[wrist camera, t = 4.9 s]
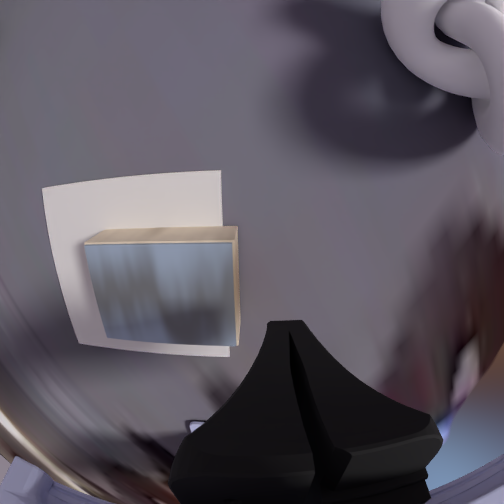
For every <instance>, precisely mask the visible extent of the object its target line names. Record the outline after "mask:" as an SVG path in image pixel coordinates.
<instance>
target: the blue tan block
mask: <svg viewBox="0 0 504 504" xmlns="http://www.w3.org/2000/svg"><path fill="white" fill-rule="evenodd" d="M84 244H85V245H84V248H85V253H86V258H87V263H88V268H89V272H90V277H91V281H92V285H93V289H94V293H95V297H96V301H97V305H98V309H99V312H100V316H101V319H102V323H103V326H104V329H105V333H106V336H107V338H112V339H121V340H131V341H142V342H153V343H167V344H184V345H206V346H236V345H239V333H240V293H239V262H238V226H201V227H160V228H129V229H105V230H103V231H102V232H100V233H99V234H97V235H95V236H94V237H92V238H91V239H89V240H88V241H86V242H85V243H84Z"/></svg>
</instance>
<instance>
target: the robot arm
mask: <svg viewBox="0 0 504 504" xmlns="http://www.w3.org/2000/svg"><path fill="white" fill-rule="evenodd" d="M190 430H191V433H190V434H189V435H188V436H186V437H185V438H184V440H183V441H182V443H181V445H180V447H179V449H178V451H177V453H176V456H175V458H174V461H173V464H172V467H171V471H170V476H169V481H168V485H169V488H170V489H171V491H172V492H173V494H174V495H175V496H176V498H177V499H178V501H179V502H180V503H181V504H504V454H503V455H501V456H500V457H498V458H496V459H495V460H493V461H491V462H489V463H487V464H486V465H484V466H482V467H480V468H478V469H477V470H475V471H473V472H471V473H469V474H467V475H465V476H463V477H461V478H459V479H457V480H455V481H452V482H450V483H448V484H445V485H443V486H441V487H438V488H436V489H433V490H431V491H429V490H428V487H427V485H426V482H425V479H427V478H428V473H427V471H426V468H425V467H426V466H427V465H428V464H429V463H430V461H431V460H432V459H433V458H434V457H435V455H436V454H437V453H438V451H439V450H440V448H441V446H442V443H443V438H442V436H441V434H440V432H439V430H438V428H437V426H436V424H435V422H434V421H433V419H432V417H431V416H430V415H429V414H427V413H424V412H421V411H418V410H415V409H413V408H410V407H407V406H405V405H403V404H400V403H398V402H396V401H394V400H392V399H390V398H388V397H386V396H384V395H383V394H381V393H379V392H377V391H376V390H374V389H372V388H371V387H369V386H368V385H366V384H365V383H363V382H362V381H360V380H359V379H358V378H356V377H355V376H354V375H353V374H351V373H350V372H349V371H348V370H346V369H345V368H344V367H343V366H342V365H341V364H340V363H339V362H338V361H337V360H336V359H335V358H334V357H333V356H332V355H331V354H330V353H329V352H328V351H327V350H326V349H325V348H324V347H323V345H322V344H321V343H320V342H319V341H318V340H317V338H316V337H315V336H314V335H313V333H312V332H311V331H310V329H309V328H308V327H307V325H306V324H305V323H304V322H303V321H302V320H289V321H270V322H269V323H267V331H266V335H265V338H264V341H263V344H262V346H261V349H260V351H259V353H258V356H257V358H256V359H255V361H254V363H253V365H252V367H251V369H250V370H249V372H248V374H247V375H246V377H245V378H244V380H243V381H242V383H241V384H240V386H239V387H238V388H237V389H236V391H235V392H234V393H233V394H232V396H231V397H230V398H229V399H228V400H227V401H226V403H225V404H224V405H223V406H222V407H221V408H220V409H219V410H218V411H217V412H216V413H214V414H213V415H212V416H211V417H210V418H209V419H208V420H207V421H206V422H196V421H193V422H191V423H190ZM0 504H114V503H111V502H108V501H104V500H101V499H98V498H95V497H93V496H90V495H87V494H84V493H82V492H79V491H76V490H74V489H71V488H69V487H67V486H64V485H62V484H60V483H57V482H55V481H53V480H52V478H51V477H50V476H49V475H48V474H47V473H46V472H44V471H43V470H42V469H40V468H38V467H37V466H35V465H33V464H31V463H29V462H27V461H25V460H23V459H22V458H20V457H18V456H15V458H14V460H13V462H12V463H11V465H10V468H9V469H8V471H7V473H6V475H5V477H4V479H3V481H2V483H1V485H0Z"/></svg>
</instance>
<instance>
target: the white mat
mask: <svg viewBox="0 0 504 504" xmlns="http://www.w3.org/2000/svg"><path fill="white" fill-rule="evenodd" d="M42 193H43V201H44V208H45V215H46V222H47V227H48V233H49V238H50V244H51V249H52V253H53V258H54V262H55V266H56V271H57V275H58V278H59V282H60V286H61V290H62V293H63V297H64V300H65V303H66V307H67V310H68V313H69V316H70V319H71V322H72V325H73V328H74V331H75V334H76V336H77V339H78V342H79V344H86V345H92V346H99V347H106V348H114V349H122V350H130V351H140V352H150V353H162V354H175V355H192V356H215V357H230V349H229V346H206V345H184V344H167V343H153V342H142V341H131V340H121V339H112V338H107V336H106V333H105V329H104V326H103V323H102V319H101V316H100V312H99V309H98V305H97V301H96V297H95V293H94V289H93V285H92V281H91V277H90V272H89V268H88V263H87V258H86V253H85V248H84V245H85V244H84V243H85V242H86V241H88V240H89V239H91V238H92V237H94V236H95V235H97V234H99V233H100V232H102V231H103V230H105V229H129V228H160V227H201V226H223V220H222V192H221V170H211V171H190V172H173V173H159V174H147V175H136V176H126V177H117V178H108V179H99V180H92V181H84V182H77V183H70V184H64V185H57V186H51V187H46V188H42Z"/></svg>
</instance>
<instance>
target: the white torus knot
mask: <svg viewBox="0 0 504 504" xmlns="http://www.w3.org/2000/svg"><path fill="white" fill-rule="evenodd" d="M381 20H382V26H383V31H384V34H385V36H386V39H387V41H388V44H389V46H390V47H391V49H392V50H393V52H394V53H395V55H396V57H397V58H398V59H399V60H400V61H401V62H402V63H403V64H404V66H405V67H406V68H407V69H408V70H409V71H411V72H412V73H413V74H415V75H416V76H417V77H419V78H420V79H422V80H424V81H425V82H427V83H429V84H431V85H432V86H434V87H437V88H439V89H441V90H444V91H447V92H450V93H453V94H457V95H461V96H466V97H471V100H472V108H473V113H474V117H475V121H476V124H477V128H478V131H479V134H480V136H481V137H482V139H483V140H484V141H485V142H486V144H487V145H488V146H489V148H490V149H491V150H492V151H494V152H496V153H498V154H500V155H502V156H504V0H381ZM434 22H435V24H436V26H437V27H438V28H439V29H440V30H441V31H442V32H443V33H444V34H445V35H446V36H449V37H451V38H453V39H455V40H457V41H458V42H460V43H462V44H464V45H466V46H468V47H470V48H471V49H465V48H460V47H455V46H452V45H448V44H446V43H443V42H441V41H439V40H438V39H437V38H436V36H435V33H434Z"/></svg>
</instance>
